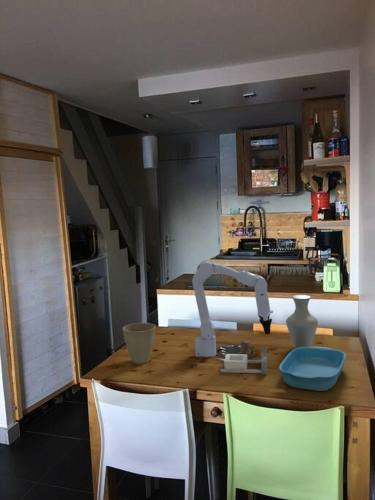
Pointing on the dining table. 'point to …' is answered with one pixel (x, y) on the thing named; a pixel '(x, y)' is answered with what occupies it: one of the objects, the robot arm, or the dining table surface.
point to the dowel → (245, 347)
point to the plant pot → (139, 341)
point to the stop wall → (264, 362)
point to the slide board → (243, 369)
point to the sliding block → (236, 361)
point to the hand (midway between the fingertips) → (267, 331)
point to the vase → (301, 323)
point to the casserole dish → (312, 367)
